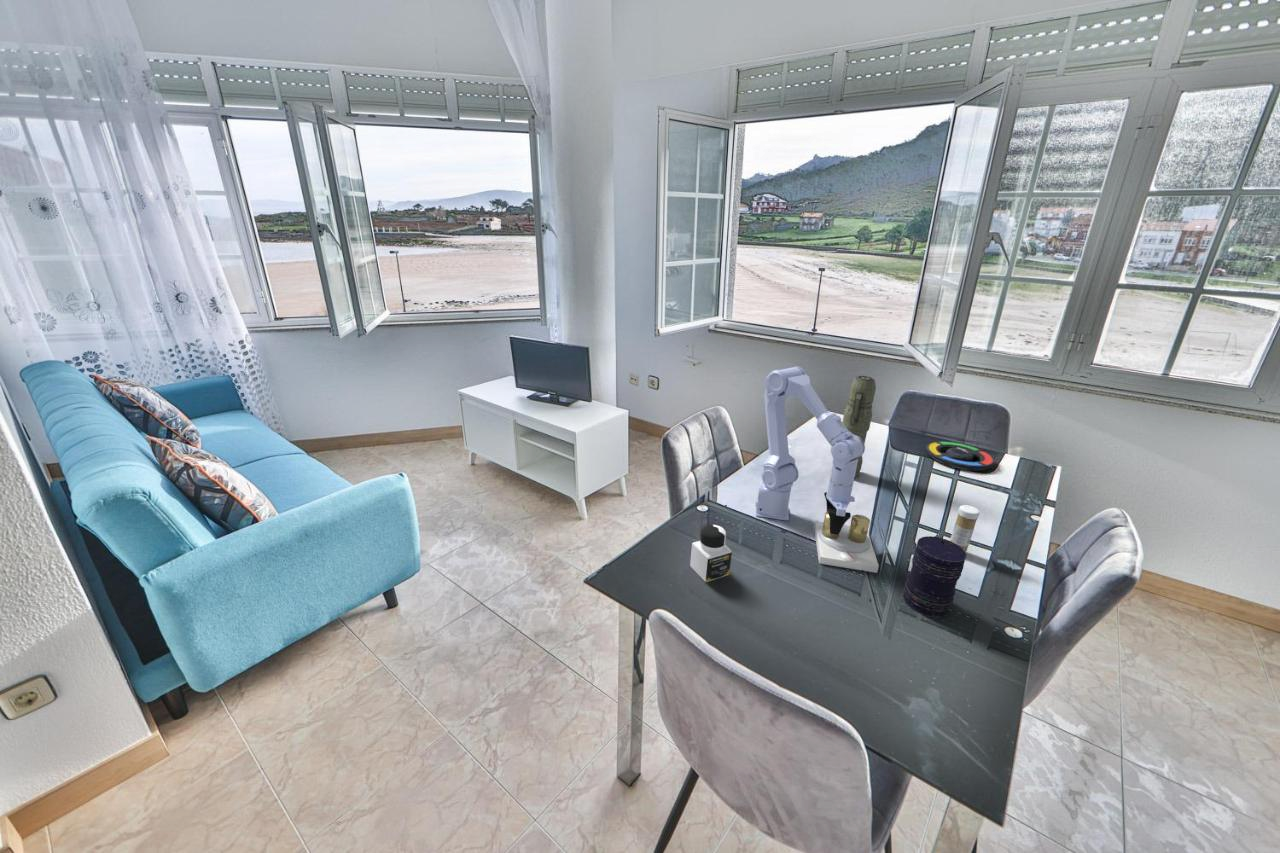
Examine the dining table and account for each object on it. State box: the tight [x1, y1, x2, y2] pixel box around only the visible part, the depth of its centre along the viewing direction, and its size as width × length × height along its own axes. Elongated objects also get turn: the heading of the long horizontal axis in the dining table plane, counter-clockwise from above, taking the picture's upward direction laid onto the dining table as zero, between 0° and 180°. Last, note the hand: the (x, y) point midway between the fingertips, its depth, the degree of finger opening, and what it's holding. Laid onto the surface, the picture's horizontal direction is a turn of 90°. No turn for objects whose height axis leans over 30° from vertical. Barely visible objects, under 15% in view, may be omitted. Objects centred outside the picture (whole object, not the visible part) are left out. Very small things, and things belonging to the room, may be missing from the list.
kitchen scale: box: [813, 520, 880, 574], centre depth 140 cm, size 14×18×3 cm
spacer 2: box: [848, 514, 871, 543], centre depth 139 cm, size 4×4×6 cm
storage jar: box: [902, 535, 967, 618], centre depth 119 cm, size 10×10×15 cm
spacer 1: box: [822, 510, 840, 539], centre depth 141 cm, size 4×4×6 cm
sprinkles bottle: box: [949, 504, 980, 553], centre depth 139 cm, size 5×5×14 cm
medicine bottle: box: [689, 524, 733, 583], centre depth 127 cm, size 7×7×12 cm
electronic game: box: [925, 440, 996, 472], centre depth 199 cm, size 23×23×5 cm
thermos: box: [841, 375, 877, 479], centre depth 179 cm, size 9×12×35 cm
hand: (832, 526), depth 141 cm, fingers open, 7 cm apart
